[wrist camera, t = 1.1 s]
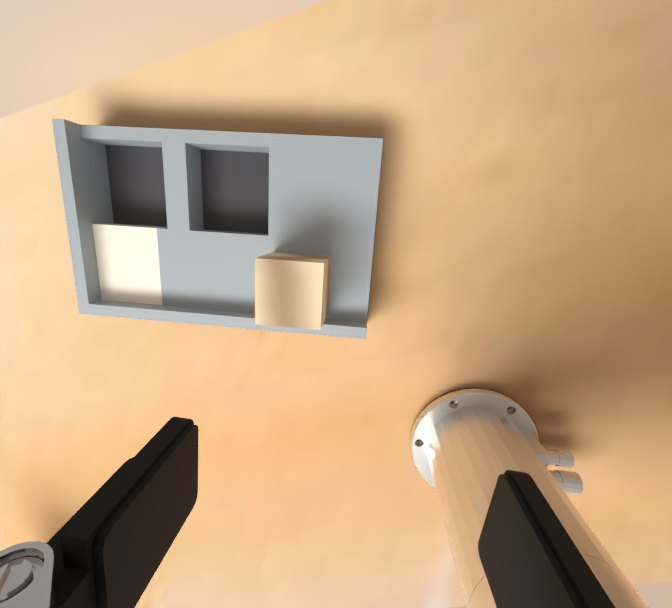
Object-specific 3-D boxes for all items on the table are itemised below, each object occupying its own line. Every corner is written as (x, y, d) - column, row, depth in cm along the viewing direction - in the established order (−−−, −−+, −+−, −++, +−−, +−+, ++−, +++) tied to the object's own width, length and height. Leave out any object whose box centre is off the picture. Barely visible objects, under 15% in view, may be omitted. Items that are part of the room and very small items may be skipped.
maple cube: (331, 255, 28) (323, 263, 23) (328, 311, 29) (320, 330, 25) (273, 251, 28) (255, 258, 24) (273, 307, 30) (255, 324, 25)
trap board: (381, 146, 28) (384, 133, 24) (365, 323, 32) (365, 339, 28) (97, 133, 30) (52, 118, 26) (115, 301, 34) (79, 313, 30)
